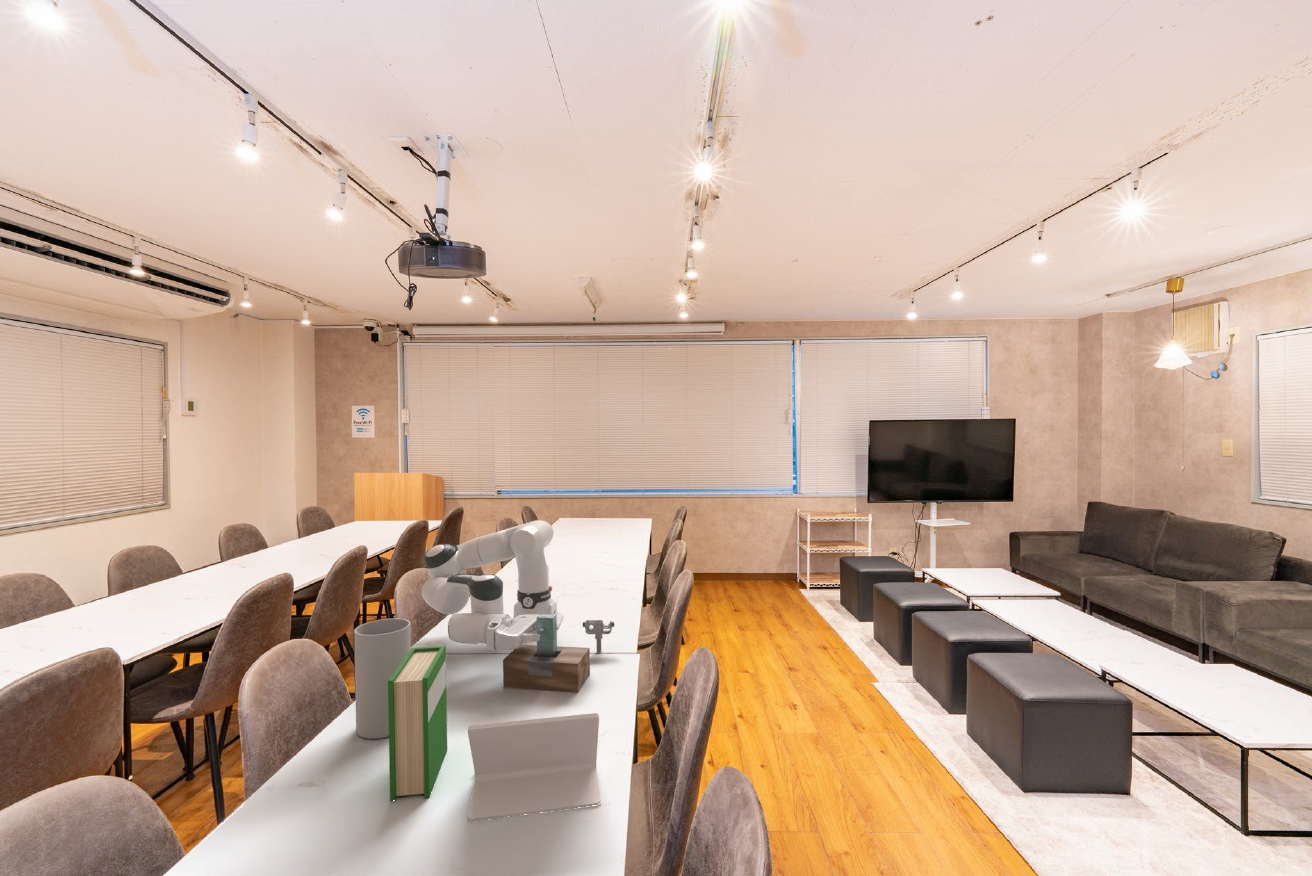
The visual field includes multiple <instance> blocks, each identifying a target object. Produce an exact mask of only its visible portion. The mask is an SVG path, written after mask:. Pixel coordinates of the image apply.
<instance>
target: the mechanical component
mask: <svg viewBox="0 0 1312 876" xmlns="http://www.w3.org/2000/svg"><path fill="white" fill-rule="evenodd" d="M591 626H592V627H591ZM614 627H615V622H614V621H612V620H610V621H609V623H608V624H605V623H604V620H601V619H596V620H595V619H593V620H591V619H590V620H589V619H587V620H585V621H583V622H582V628H585V633H586V634H587V635H594V639H595V640H596V641H595V643H596V652H597V653H599V654H600V653H601V652H602V639H603V638H604V636H603V635H610V634H611V633H612V630H613V628H614ZM607 629H608V630H607Z"/></svg>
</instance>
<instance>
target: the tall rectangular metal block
mask: <svg viewBox="0 0 1312 876" xmlns="http://www.w3.org/2000/svg"><path fill="white" fill-rule="evenodd" d="M536 620H537V633H540V634H541V639H540V640H539V641H536V645H537V657H553V658H556V657H557V646H558V637H557V636H558V635H557V634H558V631H557V630H558V629H557V615H548V614H540V615H539V616H537V617H536Z"/></svg>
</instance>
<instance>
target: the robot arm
mask: <svg viewBox="0 0 1312 876" xmlns="http://www.w3.org/2000/svg"><path fill="white" fill-rule="evenodd" d="M553 537H554V529H553V526H552V525H551V524H550V522H548V521H546V520H542V519H541V520H538V519H537V520H532V521H528V522H524V523H522V524H520V525H519V524H518V525H516V526H512V527H509V528H506V529H503V530H498V531H496V532H492V533H488V534H484V535H482V536H478V537H475V538H472V539H470V540H467V541H465V542H463V543H461V544H459V546H457V545H456V544H448V543H439V544H436V545H434V546H432V547H431V548H429V549H428V550H427V551H426V552H425V554H424V555H423V562H424V563H423V564H424V565H425V567H426V569H427V571H428V572H429V575H430V577H431V578H429V579H427V580H426V581H425V582H424V584H423V586H422V588H421V597H422V598H423V600H424V601H425V603H426V604H427V605H428V606H429V607H431V608H433V610H434V611H437V612H439V613H441V614H443V615H450V617H449V619H448V622H447V623H448V625H447V634H448V638H449V639H450V640H451V641H452V642H454V643H459V644H464V645H478V644H484V645H487V651H490V652H494V651H496V650H501V651H507V650H508V651H509V650H512V651H513V650H514V649H517V648H519V647H520V646H521V645H524V643H530V642H537V641H539V640H540V639H541V634H540V633H537V620H536V617H537V616H539V615H540V614H548V615H557V630H558V629H560V626H561V623H562V621H563V619H564V614H563V613H562V612H561V613H560V612H558V604H557V602H556V601H555V600H554V599H553V598H552V595H551V594H552V593H551V592H552V590H553V586H552V585H550V576H549V566H548V564H547V561H546V557H545V548H546V547H548V546H549V545H550V543H551V542H552V540H553ZM514 558H515V563H516V566H517V575H518V576H517V579H518V582H517V583H518V589H517V593H516V597H517V602H516V603H515V604H514V606H513V618H511V615H510V614H509V613H508V614H506V613H504V596H503V594H504V582H503V581H502V579H501V578H500V577H498V576H497V575H495V574H475V573H467V571H466V570H467V569H474V568H481V567H486V566H489V565H494V564H496V563H502V562H505V561H508V560H510V559H514ZM469 599H470V600H469ZM469 601H470V610H471V611H470V612H463V613H462V612H461V611H462V610H463V609H465V607H467V604H468V602H469ZM459 612H461V613H459Z"/></svg>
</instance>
